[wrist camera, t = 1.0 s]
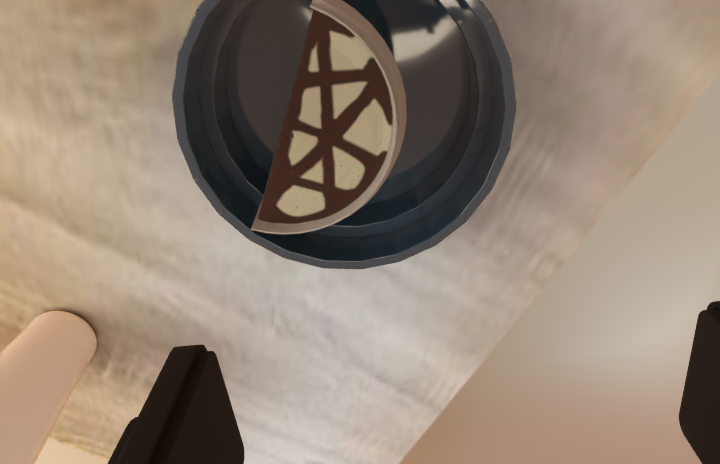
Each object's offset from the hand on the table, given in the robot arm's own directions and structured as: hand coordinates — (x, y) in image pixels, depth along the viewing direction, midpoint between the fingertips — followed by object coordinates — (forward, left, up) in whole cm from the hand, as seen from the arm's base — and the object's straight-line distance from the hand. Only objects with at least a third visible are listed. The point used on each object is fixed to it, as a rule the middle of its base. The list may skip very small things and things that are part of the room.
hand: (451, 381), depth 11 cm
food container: (-3, -1, -27) cm, 27 cm away
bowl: (-3, -1, -27) cm, 27 cm away
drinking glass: (-26, -21, -27) cm, 43 cm away
